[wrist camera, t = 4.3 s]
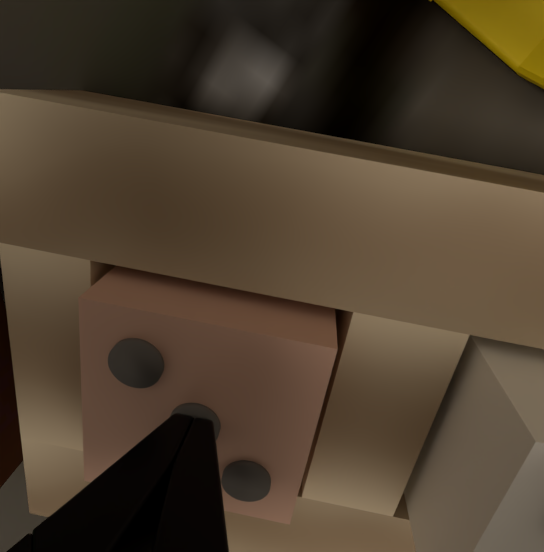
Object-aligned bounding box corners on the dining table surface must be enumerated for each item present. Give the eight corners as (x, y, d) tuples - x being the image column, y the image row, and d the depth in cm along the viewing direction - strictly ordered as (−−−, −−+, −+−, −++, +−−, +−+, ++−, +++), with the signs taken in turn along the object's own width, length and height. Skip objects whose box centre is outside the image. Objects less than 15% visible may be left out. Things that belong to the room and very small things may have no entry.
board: (791, 573, 15) (921, 706, 12) (89, 427, 16) (29, 512, 12) (1118, 279, 10) (1490, 367, 7) (81, 90, 11) (-20, 88, 8)
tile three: (297, 419, 13) (289, 530, 10) (141, 387, 13) (80, 485, 10) (332, 274, 11) (338, 353, 8) (147, 238, 11) (73, 301, 8)
